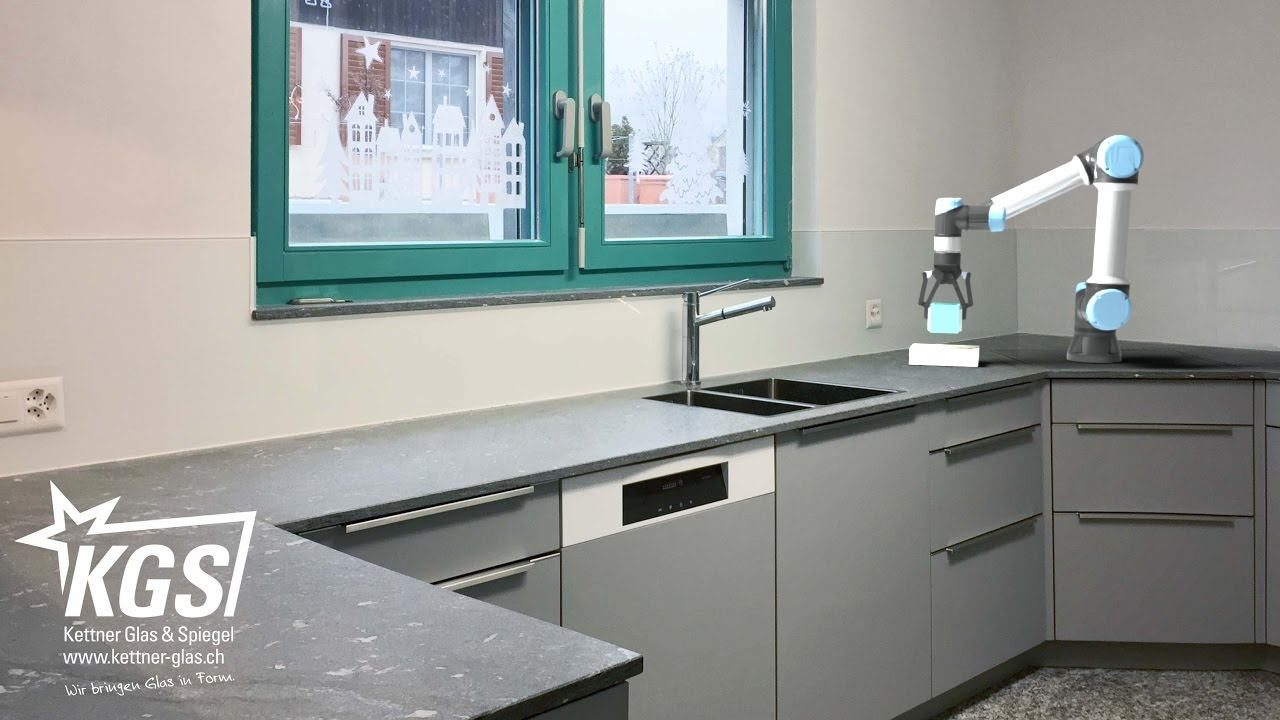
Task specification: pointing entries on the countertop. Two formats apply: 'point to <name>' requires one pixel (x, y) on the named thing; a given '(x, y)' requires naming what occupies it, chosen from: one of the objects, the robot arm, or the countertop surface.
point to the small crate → (944, 317)
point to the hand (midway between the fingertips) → (944, 330)
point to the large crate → (944, 355)
